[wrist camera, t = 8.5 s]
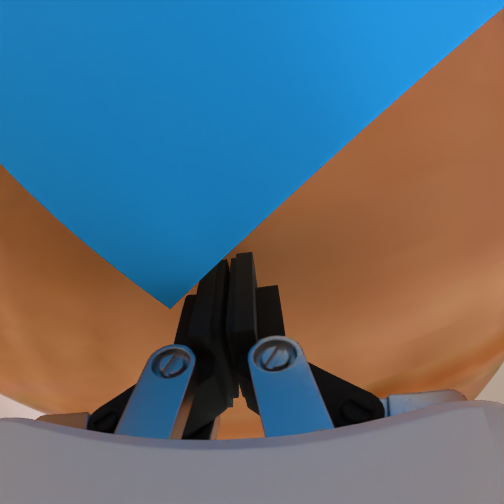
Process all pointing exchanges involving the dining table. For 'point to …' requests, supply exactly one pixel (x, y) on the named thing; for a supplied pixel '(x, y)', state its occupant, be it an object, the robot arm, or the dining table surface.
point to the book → (198, 111)
